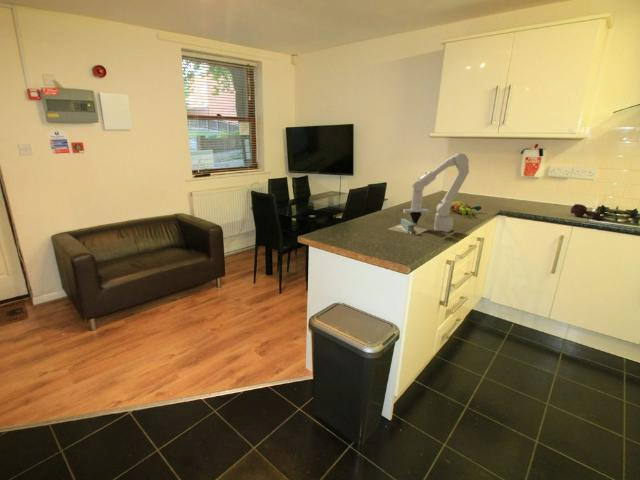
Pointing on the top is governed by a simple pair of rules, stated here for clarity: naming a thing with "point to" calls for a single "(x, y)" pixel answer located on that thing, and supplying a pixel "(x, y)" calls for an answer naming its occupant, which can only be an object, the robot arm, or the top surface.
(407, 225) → the swing arm
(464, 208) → the toy
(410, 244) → the top surface
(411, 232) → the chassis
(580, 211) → the figurine
